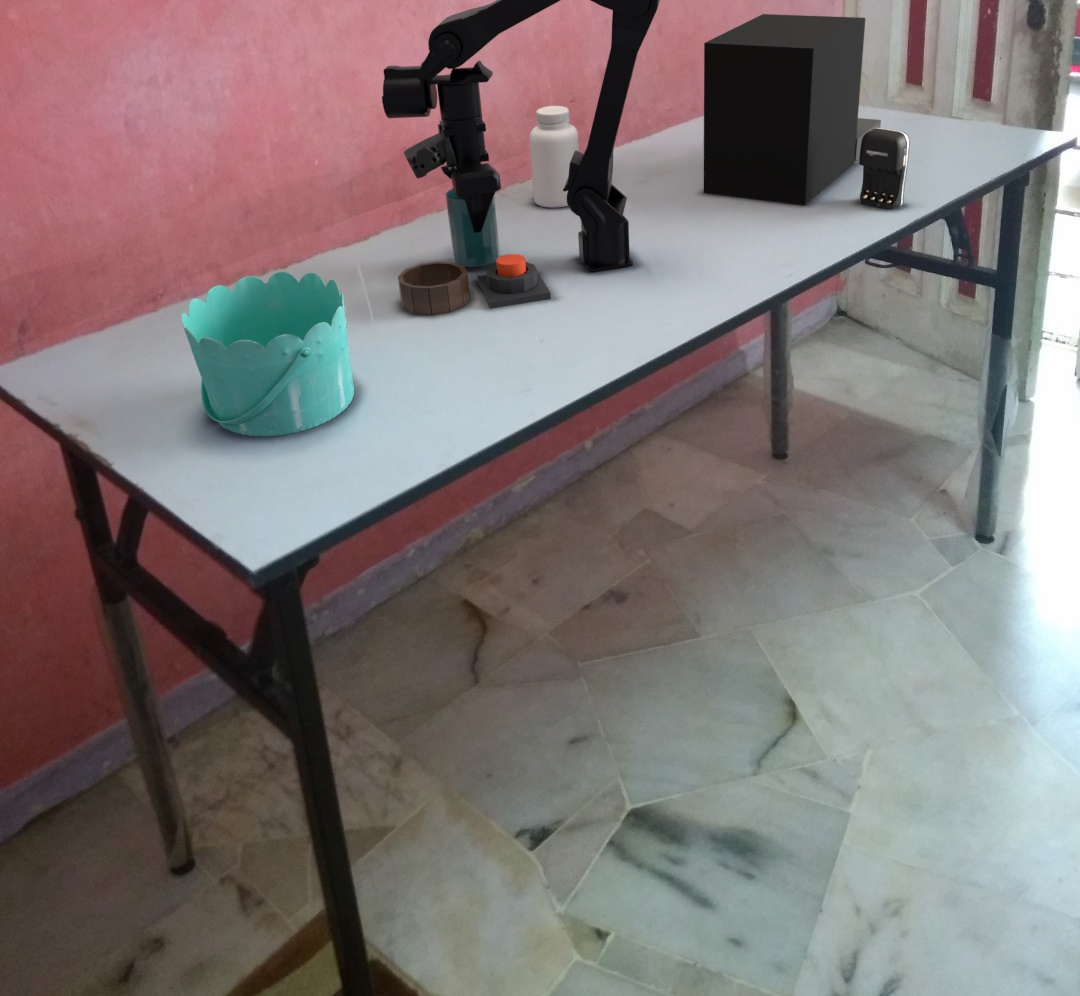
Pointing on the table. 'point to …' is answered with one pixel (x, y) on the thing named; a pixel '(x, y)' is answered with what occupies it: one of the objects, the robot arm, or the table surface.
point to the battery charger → (884, 167)
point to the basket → (272, 353)
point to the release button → (511, 265)
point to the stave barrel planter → (434, 288)
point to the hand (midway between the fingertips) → (473, 224)
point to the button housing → (513, 287)
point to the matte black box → (783, 106)
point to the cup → (471, 234)
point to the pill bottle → (552, 155)
